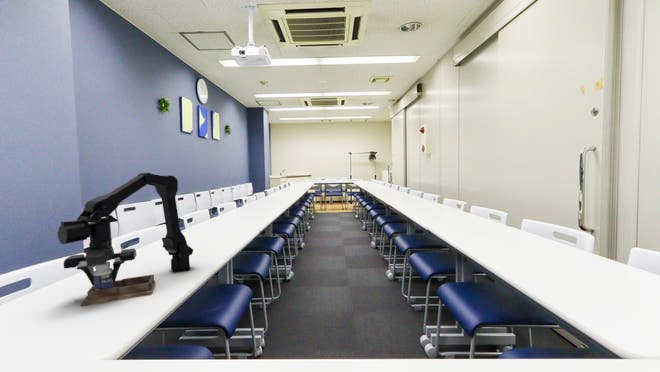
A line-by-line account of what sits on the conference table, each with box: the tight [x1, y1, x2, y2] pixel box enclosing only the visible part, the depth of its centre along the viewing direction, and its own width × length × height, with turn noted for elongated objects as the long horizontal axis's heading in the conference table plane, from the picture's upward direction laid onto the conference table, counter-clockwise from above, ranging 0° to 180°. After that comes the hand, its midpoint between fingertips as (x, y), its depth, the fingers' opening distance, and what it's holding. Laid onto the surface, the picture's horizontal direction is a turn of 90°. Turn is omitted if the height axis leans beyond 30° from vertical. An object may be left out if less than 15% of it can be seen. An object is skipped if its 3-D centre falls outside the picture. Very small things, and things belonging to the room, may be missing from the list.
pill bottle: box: [93, 261, 114, 290], centre depth 101 cm, size 5×5×10 cm
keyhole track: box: [80, 274, 156, 307], centre depth 104 cm, size 19×12×4 cm, turn 115°
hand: (103, 283), depth 102 cm, fingers closed on pill bottle, 5 cm apart
